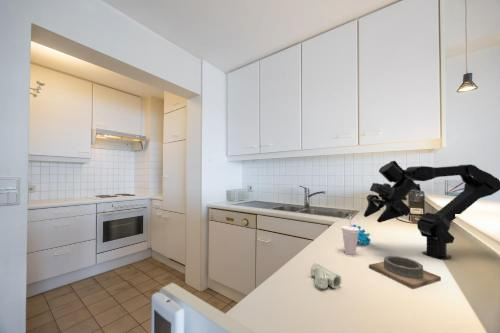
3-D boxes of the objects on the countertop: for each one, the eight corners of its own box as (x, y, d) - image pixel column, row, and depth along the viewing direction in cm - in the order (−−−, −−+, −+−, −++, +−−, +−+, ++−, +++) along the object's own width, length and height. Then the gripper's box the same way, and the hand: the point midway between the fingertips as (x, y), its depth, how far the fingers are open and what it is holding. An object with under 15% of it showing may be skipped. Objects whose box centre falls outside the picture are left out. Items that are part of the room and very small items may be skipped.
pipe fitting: (323, 295, 52) (341, 287, 56) (323, 280, 52) (340, 272, 56) (302, 280, 60) (319, 274, 63) (301, 267, 59) (318, 261, 63)
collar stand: (395, 262, 72) (395, 251, 72) (440, 280, 60) (440, 268, 60) (368, 267, 67) (368, 256, 67) (412, 288, 55) (412, 275, 55)
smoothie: (360, 252, 80) (360, 216, 81) (358, 257, 75) (358, 219, 76) (342, 248, 84) (342, 214, 84) (339, 253, 79) (340, 217, 79)
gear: (358, 243, 85) (347, 222, 93) (349, 250, 89) (339, 229, 96) (377, 245, 89) (365, 224, 96) (368, 251, 92) (357, 231, 100)
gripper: (370, 175, 89) (345, 200, 89) (401, 176, 71) (369, 208, 71) (389, 194, 89) (363, 219, 89) (424, 199, 70) (392, 231, 70)
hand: (370, 218), depth 80 cm, fingers open, 9 cm apart
